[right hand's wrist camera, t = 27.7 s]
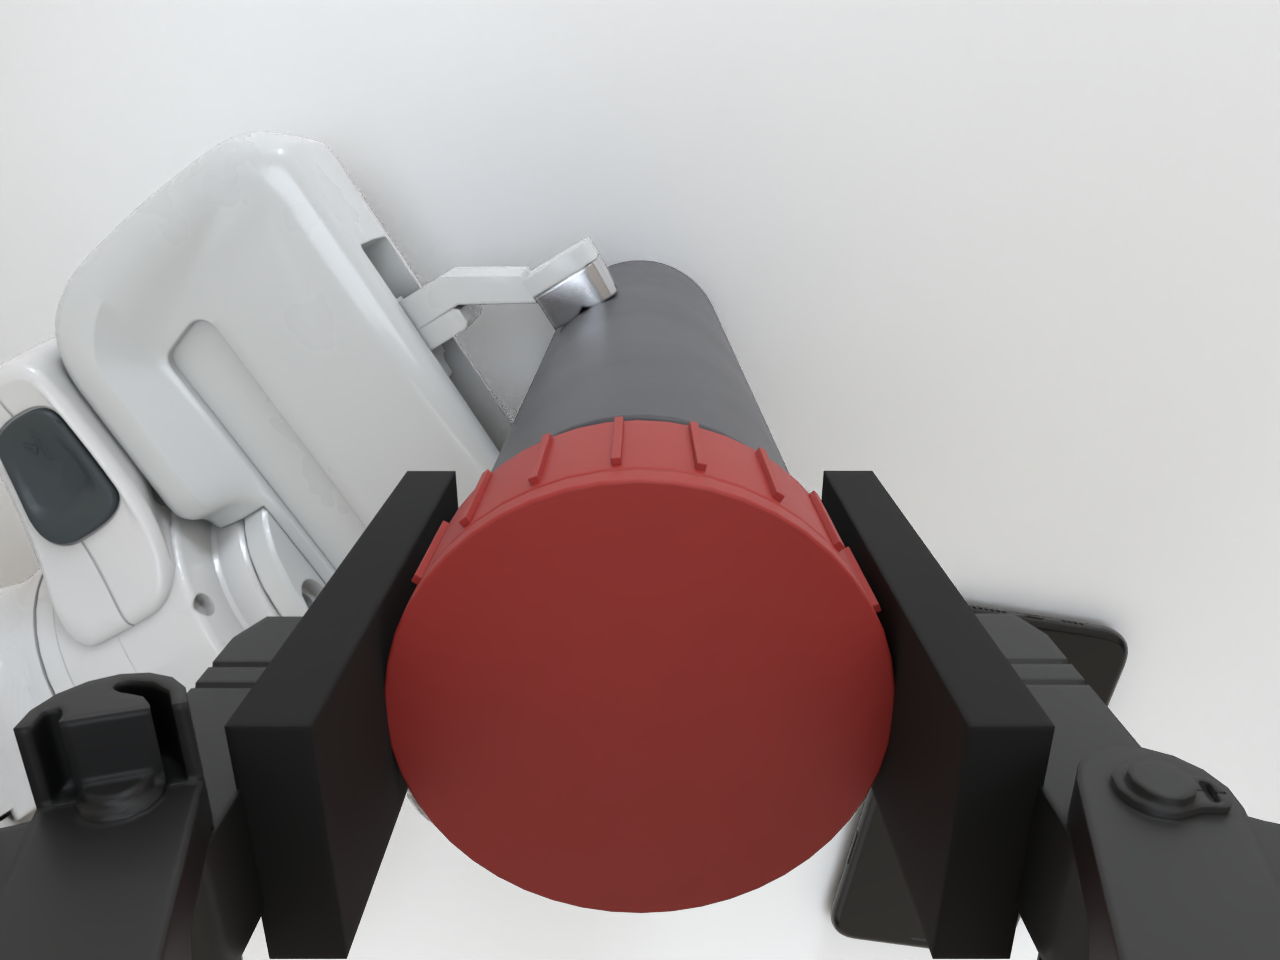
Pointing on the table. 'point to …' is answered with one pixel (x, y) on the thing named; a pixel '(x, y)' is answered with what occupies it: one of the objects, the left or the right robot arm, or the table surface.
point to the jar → (641, 366)
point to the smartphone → (872, 874)
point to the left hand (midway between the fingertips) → (668, 374)
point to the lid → (639, 671)
